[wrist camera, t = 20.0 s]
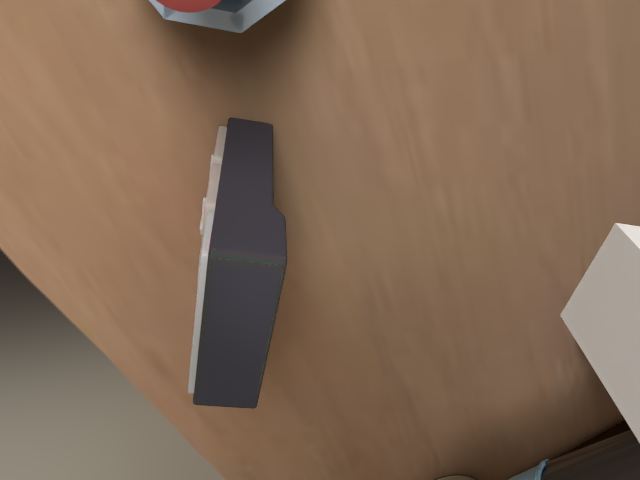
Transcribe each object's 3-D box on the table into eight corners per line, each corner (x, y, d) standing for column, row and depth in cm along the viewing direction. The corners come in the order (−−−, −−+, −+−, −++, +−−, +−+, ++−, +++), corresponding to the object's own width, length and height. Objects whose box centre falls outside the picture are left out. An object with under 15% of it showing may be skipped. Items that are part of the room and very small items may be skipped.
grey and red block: (217, 113, 36) (190, 250, 23) (281, 122, 36) (287, 261, 24) (204, 245, 42) (177, 407, 30) (259, 251, 43) (256, 412, 30)
